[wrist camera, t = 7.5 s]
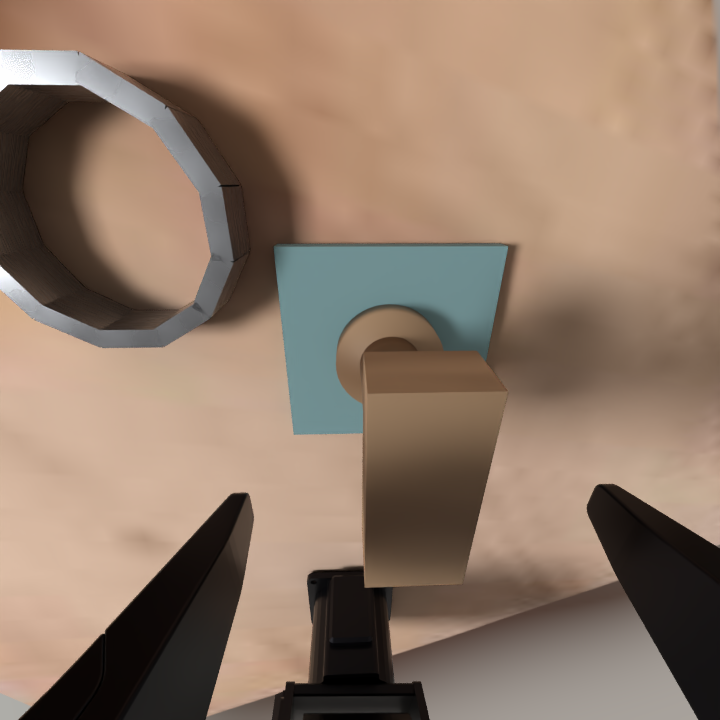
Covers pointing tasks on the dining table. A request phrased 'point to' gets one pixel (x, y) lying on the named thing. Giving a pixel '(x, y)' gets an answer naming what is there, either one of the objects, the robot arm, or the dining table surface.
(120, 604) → the dining table surface
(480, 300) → the rubber mat
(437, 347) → the t key
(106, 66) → the ring socket
